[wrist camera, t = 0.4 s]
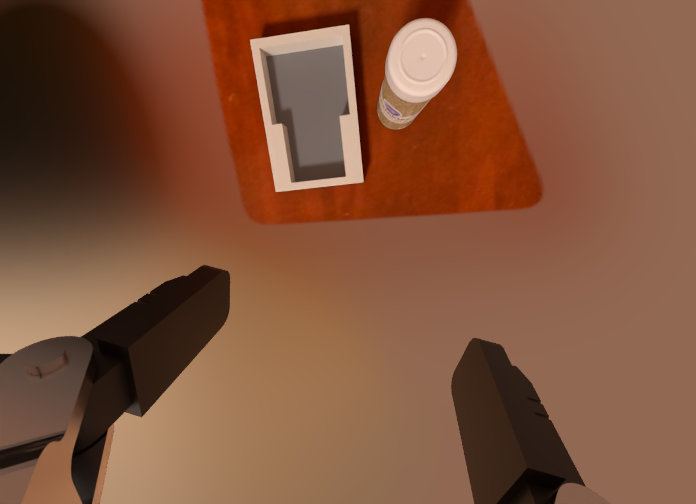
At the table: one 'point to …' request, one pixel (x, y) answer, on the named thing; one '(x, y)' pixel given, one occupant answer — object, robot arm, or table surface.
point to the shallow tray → (309, 107)
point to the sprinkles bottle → (415, 70)
